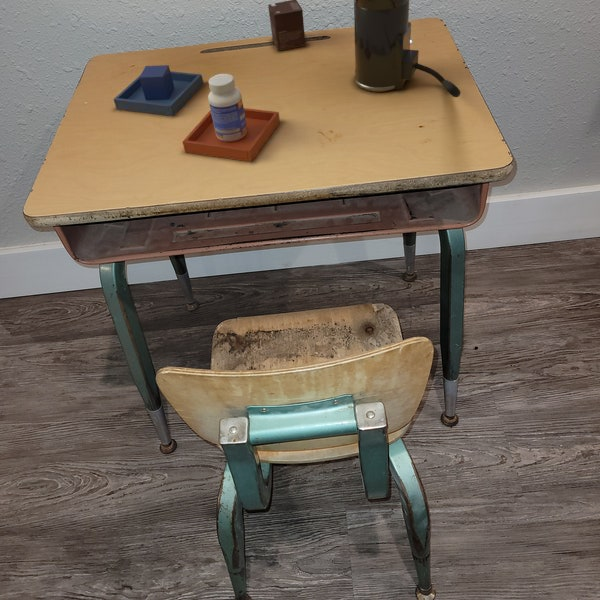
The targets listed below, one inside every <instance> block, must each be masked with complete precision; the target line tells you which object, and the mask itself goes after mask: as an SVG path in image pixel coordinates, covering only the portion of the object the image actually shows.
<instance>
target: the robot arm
mask: <svg viewBox="0 0 600 600" xmlns="http://www.w3.org/2000/svg"><path fill="white" fill-rule="evenodd" d="M353 11H354V12H353V19H354V20H353V21H354V23H353V24H354V83H355V84H356V86H357V87H358V88H360V89H362V90H364V91H368V92H375V93H377V92H379V93H381V92H382V93H383V92H390V91H394V90H396V91H397V90H398V91H399V90H400V91H401V90H402V89H403V87H404V85H405V83H406V82H407V81H412V79H413V78H414V76H415V74H416V71H417V70H418V71H421V72H424V73H427V74H429V75H431V76H432V77H434V78H435V79H436V80H438V82H439V83H440V84H441V86H442V88H443V89H444V90H445V91H446V92H447V93H448V94H449V95H450V96H452V97H453V98H458V97H460V95H461V90H460V89H459V88H458V87H457V86H456V85H455V84H454V83H453V82H451V81H449V80H448V79H445V78H444V76H442V75H441V74H440V73H439V72H438V71H437V70H435V69H433V68H431V67H429V66H426V65H423V64H421V63H419V52H420V51H419V50H418V49H411V43H412V42H413V41H412V39H411V38H412V23H411V22H409V20H410V19H409V17H410V15H409V14H410V0H353Z"/></svg>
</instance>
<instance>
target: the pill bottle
mask: <svg viewBox="0 0 600 600" xmlns="http://www.w3.org/2000/svg"><path fill="white" fill-rule="evenodd" d="M208 86H209V89H210V92H209V93H208V96H207V101H208V104H209V105H208V106H209V109H210V110H211V114H212V118H213V123H214V127H215V132H216V136H217V138H218V139H219V140H221V141H226V142H232V141H237V140H240V139H242V138H243V137H244V136H245V135H246V134H247V124H246V118H245V113H244V108H245V107H244V102H243V97H242V92H241V90H240V89H239V88H238V87H236V82H235V78H234V76H233V75H232V74H230V73H219V74H215V75H213V76H211V77H210V78H209V80H208ZM210 110H209V111H210Z"/></svg>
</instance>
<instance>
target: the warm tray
mask: <svg viewBox="0 0 600 600" xmlns="http://www.w3.org/2000/svg"><path fill="white" fill-rule="evenodd" d="M244 113H245V118H246V124H247V134H246V135H245V136H244V137H243V138H242V139H240V140H237V141H232V142H226V141H221V140H219V139H218V138H217V136H216V132H215V127H214V123H213V118H212V114H211V110H209V111H208V112H207V113H206V114H205V115H204V116H203V118H202V119H201V120H200V121H199V123H197V125H195V127H194V128H193V129H192V130H191V131H190V132H189V133H188V135H187V136H186V137H185V138H184V139H183V140H182V146H183V149H184V153H188V154H194V155H195V154H196V155H203V156H210V157H215V158H223V159H228V160H229V159H230V160H236V161H245V162H249V163H250V162H251V163H252V162H253V161H254V160H255V158H256V156H257V155H258V154H259V153H260V151H261V150H262V148H263V147H264V145H265V144H266V143H267V142H268V140H269V138H270V137H271V136H272V135H273V133H274V132H275V130H276V129H277V127H278V126H279V124H280V123H281V120H280V112H279V111H274V110H273V111H272V110H263V109H255V108H248V107H247V108H246V107H244Z"/></svg>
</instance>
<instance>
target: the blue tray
mask: <svg viewBox="0 0 600 600" xmlns="http://www.w3.org/2000/svg"><path fill="white" fill-rule="evenodd" d="M170 72H171V76H172V80H173V84H174V90H173V92H172V94H171V96H170V98H169V99H167V100H146V99H145V96H144V92H143V89H142V86H141V82H140V79H139V77H140V75H139V76H137V77H136V78H135V79H134V80H133V81H132V82H131V83H129V84H128V86H126V87H125V88H124V89H123V90H122V91H121V92H120V93H118V94H117V95H116V96H115V97H114V98H113V99H112V100H113V102H114V105H115V108H116V110H120V111H121V110H122V111H129V112H137V113H145V114H151V115H152V114H153V115H161V116H168V117H175V115H176V114H177V113H178V112H179V111H180V110H181V109H182V108H183V107H184V106H185V105H186V104H187V102H188V101H189V100H190V99H191V98H192V97H193V96H194V95H195V94H196V93H197V92H198V91H199V90H200V89H201V88H202V87H203V85H204V79H203V75H202V74H201V73H190V72H182V71H181V72H180V71H173V70H172V71H171V70H170Z"/></svg>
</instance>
